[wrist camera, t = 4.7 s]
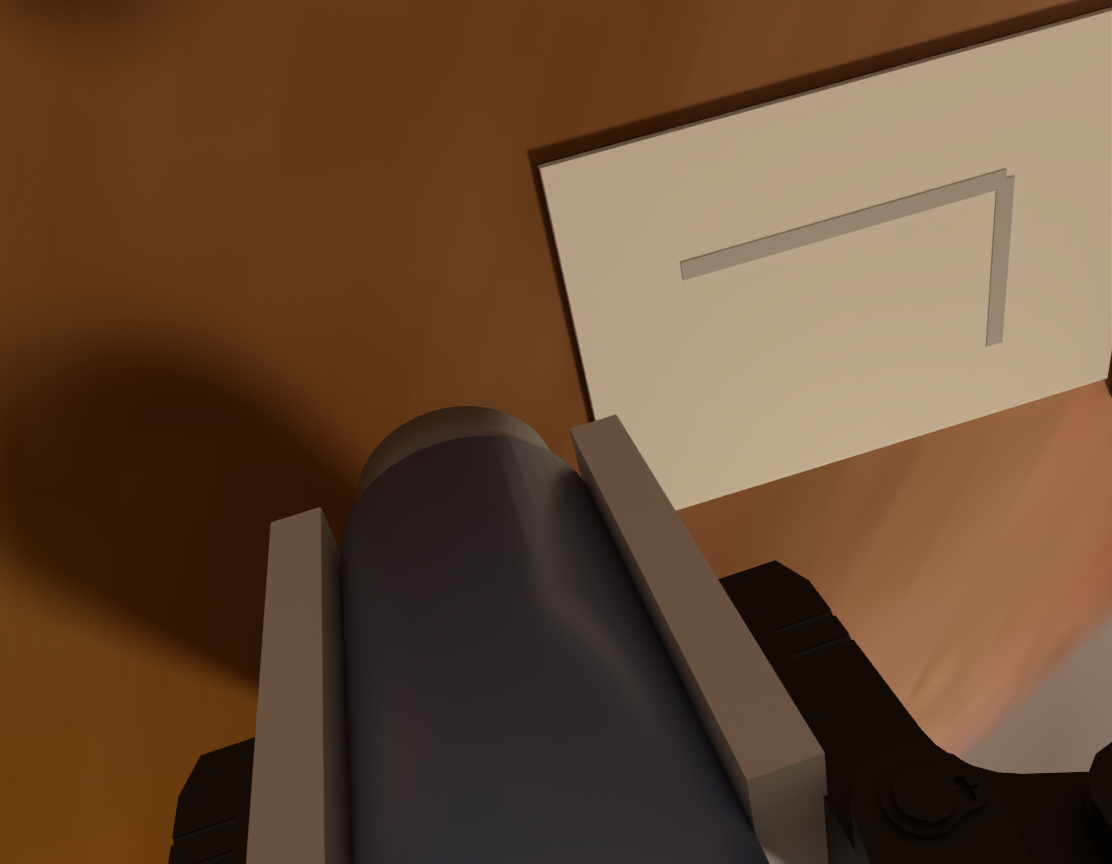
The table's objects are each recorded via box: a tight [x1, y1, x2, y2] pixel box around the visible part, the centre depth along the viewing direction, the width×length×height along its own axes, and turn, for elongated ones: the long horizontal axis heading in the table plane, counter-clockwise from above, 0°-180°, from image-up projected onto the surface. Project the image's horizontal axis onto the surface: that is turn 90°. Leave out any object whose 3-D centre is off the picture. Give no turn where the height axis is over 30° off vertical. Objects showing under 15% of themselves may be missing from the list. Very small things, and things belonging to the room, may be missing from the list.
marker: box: [340, 406, 770, 864], centre depth 9 cm, size 4×4×13 cm
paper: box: [538, 7, 1112, 510], centre depth 24 cm, size 16×11×1 cm
